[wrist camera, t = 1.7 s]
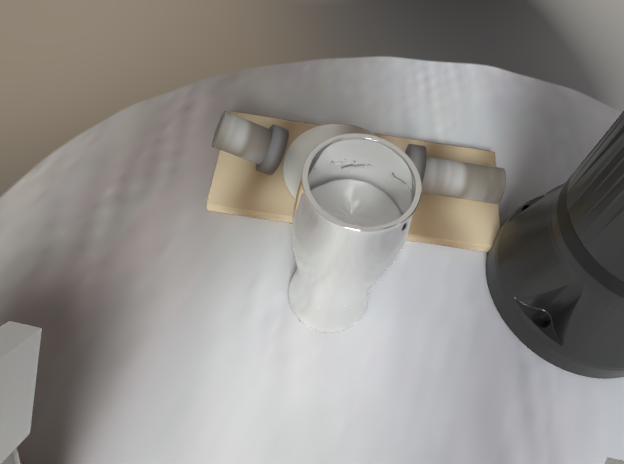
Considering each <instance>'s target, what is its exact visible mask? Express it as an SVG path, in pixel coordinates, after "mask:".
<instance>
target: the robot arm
mask: <svg viewBox="0 0 624 464" xmlns="http://www.w3.org/2000/svg"><path fill="white" fill-rule="evenodd" d="M486 270H487V280H488V286H489V290H490V293H491V296H492V299H493V301H494V304H495V306H496V308H497V310H498V312H499V313H500V315H501V317H502V318H503V320H504V321H505V323H506V324H507V326H508V327H509V328H510V329H511V331H512V332H513V333H514V334H515V335H516V336H517V337H518V338H519V340H520V341H521V342H523V343H524V344H525V345H526V346H527V347H528V348H529V349H531V350H532V351H533V352H534V353H536V354H537V355H538V356H540V357H541V358H543V359H545V360H546V361H548V362H550V363H551V364H553V365H555V366H557V367H559V368H561V369H564V370H566V371H569V372H572V373H575V374H578V375H582V376H587V377H593V378H619V377H624V111H623V113H622V114H621V115H620V116H619V118H618V119H617V120H616V121H615V122H614V124H613V125H612V126H611V127H610V129H609V130H608V131H607V132H606V134H605V135H604V136H603V137H602V139H601V140H600V141H599V142H598V144H597V145H596V146H595V147H594V149H593V150H592V151H591V152H590V153H589V155H588V156H587V157H586V158H585V160H584V161H583V162H582V163H581V165H580V166H579V167H578V168H577V170H576V171H575V172H574V173H573V174H572V176H571V177H570V178H569V179H568V181H567V182H566V183H564V184H562V185H560V186H558V187H556V188H554V189H552V190H551V191H549V192H547V193H546V194H545V195H543V196H540V197H537V198H535V199H533V200H531V201H529V202H527V203H525V204H524V205H522V206H521V207H519V208H518V209H517V210H516V211H515V212H513V213H512V214H511V215H510V216H509V218H508V219H507V220H506V221H505V223H504V224H503V225H502V227H501V228H500V230H499V231H498V233H497V235H496V237H495V239H494V242H493V245H492V247H491V249H490V250H489V252H488V256H487V265H486ZM41 332H42V328H39V327H34V326H30V325H26V324H21V323H17V322H12V321H8V322H7V323H5V324H4V325H2V326H0V464H1V463H2V462H3V461H4V460H5V459H6V458H7V457H8V456H9V455H10V454H11V453H12V452H13V451H14V450H15V449H16V448H17V447H18V445H19V444H20V443H21V442H22V441H23V440H24V439H25V438H26V437H27V436H28V435H29V434H30V429H31V420H32V412H33V403H34V394H35V385H36V376H37V367H38V359H39V350H40V341H41ZM605 464H624V461H622V460H617V459H613V458H608V457H607V460H606V462H605Z"/></svg>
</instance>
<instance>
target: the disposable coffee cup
mask: <svg viewBox="0 0 624 464" xmlns="http://www.w3.org/2000/svg"><path fill="white" fill-rule="evenodd" d="M1 464H23V462H22V461H21V460H20V458H19V454H18V450H17V448H16V449H15V450H14V451H13V452H12V453H11V454H10V455H9V456H8V457H7V458H6V459H5V460H4V461H3V462H2V463H1Z"/></svg>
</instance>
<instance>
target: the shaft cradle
mask: <svg viewBox="0 0 624 464" xmlns="http://www.w3.org/2000/svg"><path fill="white" fill-rule="evenodd" d="M349 133H360V134H368V135H373V136H376V137H379V138H382V139H385V140H387V141H389V142H391V143H393V144H394V145H396V146H397V147H399V148H400V149H401V150H402V151H404V152H405V153H406V154H407V155H408V157H409V158H410V159H411V160H412V161H413V163H414V164H415V166H416V168H417V170H418V172H419V175H420V179H421V184H422V193H421V198H420V202H419V204H418V206H417V208H416V212H415V215H414V218H413V221H412V225H411V228H410V231H409V233H408V236H407V238H406V240H409V241H416V242H423V243H429V244H436V245H443V246H450V247H456V248H463V249H470V250H476V251H483V252H489V250H490V249H491V247H492V245H493V242H494V239H495V237H496V235H497V233H498V231H499V230H500V218H499V205H498V203H499V202H500V200H501V198H502V196H503V193H504V190H505V185H506V173H505V170H504V169H503V168H497V167H496V163H495V152H491V151H484V150H478V149H471V148H465V147H458V146H452V145H445V144H439V143H432V142H426V141H419V140H413V139H407V138H400V137H394V136H387V135H381V134H374V133H371V132H369V131H367V130H365V129H362V128H359V127H356V126H351V125H346V124H327V125H316V124H309V123H303V122H296V121H290V120H283V119H277V118H271V117H264V116H258V115H251V114H245V113H238V112H232V111H230V113H229V112H226V111H225V112H224V113H223V115H222V117H221V119H220V121H219V124H218V126H217V129H216V132H215V135H214V139H213V143H212V147H214V148H217V149H219V150H220V152H219V156H218V160H217V164H216V168H215V172H214V176H213V180H212V184H211V188H210V192H209V196H208V200H207V210H209V211H215V212H222V213H229V214H235V215H242V216H249V217H255V218H262V219H269V220H275V221H282V222H289V223H292V215H293V208H294V203H295V198H296V194H297V190H298V186H299V183H300V179H301V176H302V170H303V166H304V163H305V160H306V159H307V157H308V155H309V154H310V152H311V151H312V150H313V149H314V148H315V147H316V146H317V145H319V144H320V143H322V142H323V141H325V140H327V139H329V138H331V137H334V136H338V135H342V134H349Z"/></svg>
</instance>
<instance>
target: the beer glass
mask: <svg viewBox="0 0 624 464" xmlns="http://www.w3.org/2000/svg"><path fill="white" fill-rule="evenodd" d="M421 193H422V184H421V179H420V175H419V172H418V170H417V168H416V166H415V164H414V163H413V161H412V160H411V159H410V158H409V157H408V155H407V154H406V153H405V152H404V151H402V150H401V149H400V148H399V147H397V146H396V145H394V144H393V143H391V142H389V141H387V140H385V139H382V138H379V137H376V136H373V135H368V134H360V133H349V134H342V135H338V136H334V137H331V138H329V139H327V140H325V141H323V142H322V143H320V144H319V145H317V146H316V147H315V148H314V149H313V150H312V151H311V152H310V154H309V155H308V157H307V159H306V160H305V163H304V166H303V170H302V176H301V179H300V183H299V186H298V190H297V194H296V198H295V203H294V208H293V215H292V242H293V249H294V254H295V259H296V264H297V270H296V272H295V273H294V275H293V277H292V279H291V281H290V285H289V289H288V298H289V303H290V306H291V309H292V311H293V312H294V314H295V316H296V317H297V318H298V319H299V320H300V321H301V322H302V323H303V324H304V325H306V326H307V327H309V328H311V329H313V330H316V331H319V332H324V333H336V332H341V331H344V330H347V329H349V328H350V327H352V326H353V325H355V324H356V323H357V322H358V321H359V320H360V319H361V318H362V316H363V315H364V313H365V310H366V308H367V304H368V291H369V289H370V288H371V287H372V286H373V285H374V284H375V283H376V282H377V281H378V280H379V279H380V278H381V277H382V276H383V275H384V274H385V272H386V271H387V270H388V269H389V267H390V266H391V265H392V264H393V262H394V261H395V260H396V258H397V256H398V254H399V252H400V251H401V249H402V247H403V245H404V243H405V240H406V238H407V236H408V233H409V231H410V228H411V225H412V221H413V218H414V215H415V212H416V208H417V206H418V204H419V202H420V198H421Z"/></svg>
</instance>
